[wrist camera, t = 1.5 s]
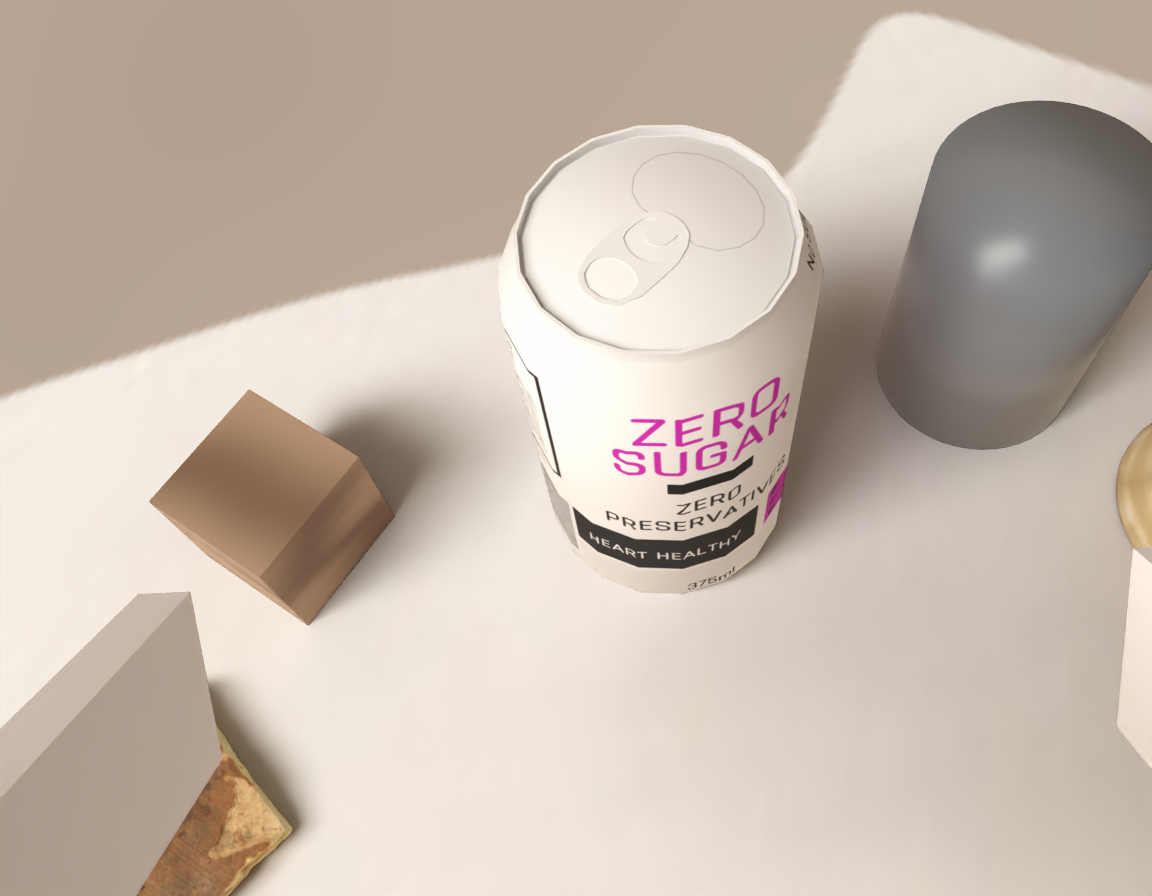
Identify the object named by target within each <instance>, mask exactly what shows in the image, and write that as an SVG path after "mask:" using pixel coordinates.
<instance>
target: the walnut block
mask: <svg viewBox="0 0 1152 896" xmlns="http://www.w3.org/2000/svg"><path fill="white" fill-rule="evenodd" d="M149 502H150V503H151V504H152V505H153V506H154V507H155V508H157V509H158V510H159V511H160V512H161V513H162V514H163V515H164V516H165V517H166V518H167V519H169V520H170V521H171V522H172V523H173V524H174V525H175V526H176V527H177V528H178V529H179V530H180V531H182V532H183V533H184V534H185V535H186V536H187V537H188V538H189V539H190V540H191V541H192V542H193V543H195V544H196V545H197V546H198V547H199V548H200V549H201V550H202V551H203V552H204V553H205V554H207V555H208V556H209V557H210V558H212V559H213V560H215V561H216V562H217V563H219V564H220V565H222V566H223V567H225V568H226V569H227V570H229V571H230V572H232V573H233V574H235V575H236V576H238V577H239V578H240V579H242V580H243V581H245V582H246V583H248V584H249V585H250V586H252V587H253V588H255V589H256V590H258V591H259V592H260V593H262V594H263V595H265V596H266V597H268V598H269V599H271V600H272V601H273V602H275V603H276V604H278V605H279V606H281V607H282V608H283V609H285V610H286V611H288V612H289V613H291V614H292V615H294V616H295V617H296V618H298V619H299V620H301V621H302V622H304V623H305V624H306V625H309V624H310V623H311V622H312V620H313V619H314V618H315V617H316V615H317V614H318V613H319V612H320V610H321V609H322V608H323V606H324V605H325V604H326V603H327V601H328V600H329V599H330V598H331V596H332V595H333V594H334V593H335V591H336V590H337V589H338V587H339V586H340V585H341V584H342V582H343V581H344V580H345V579H346V577H347V576H348V575H349V574H350V572H351V571H352V570H353V568H354V567H355V566H356V565H357V563H358V562H359V561H360V560H361V558H362V557H363V556H364V555H365V553H366V552H367V551H368V550H369V548H370V547H371V546H372V544H373V543H374V542H375V541H376V539H377V538H378V537H379V536H380V534H381V533H382V532H383V531H384V529H385V528H386V527H387V525H388V524H389V523H390V522H391V520H392V519H393V518H394V517H395V516H394V514H393V512H392V511H391V509H390V507H389V506H388V504H387V503H386V501H385V499H384V498H383V496H382V494H381V493H380V491H379V489H378V488H377V486H376V484H375V483H374V481H373V479H372V478H371V476H370V474H369V473H368V471H367V470H366V468H365V466H364V465H363V463H362V461H361V460H360V458H359V457H358V456H357V455H355V454H354V453H352V452H350V451H349V450H347V449H345V448H344V447H342V446H341V445H339V444H337V443H336V442H334V441H332V440H331V439H329V438H327V437H326V436H324V435H323V434H321V433H319V432H318V431H316V430H314V429H313V428H311V427H310V426H308V425H306V424H305V423H303V422H301V421H300V420H298V419H297V418H295V417H293V416H292V415H290V414H288V413H287V412H285V411H284V410H282V409H280V408H279V407H277V406H275V405H274V404H272V403H271V402H269V401H267V400H266V399H264V398H262V397H261V396H259V395H258V394H256V393H254V392H253V391H251V390H248V391H247V392H246V393H245V395H244V396H243V397H242V398H241V399H240V400H239V401H238V402H237V403H236V405H235V406H234V407H233V408H232V409H231V410H230V411H229V412H228V414H227V415H226V416H225V417H224V418H223V419H222V420H221V421H220V423H219V424H218V425H217V426H216V427H215V428H214V429H213V430H212V431H211V433H210V434H209V435H208V436H207V437H206V438H205V439H204V440H203V442H202V443H201V444H200V445H199V446H198V447H197V448H196V449H195V451H194V452H193V453H192V454H191V455H190V456H189V457H188V458H187V459H186V461H185V462H184V463H183V464H182V465H181V466H180V467H179V468H178V470H177V471H176V472H175V473H174V474H173V475H172V476H171V477H170V479H169V480H168V481H167V482H166V483H165V484H164V485H163V486H162V488H161V489H160V490H159V491H158V492H157V493H156V494H155V495H154V496H153V498H152V499H151V500H150V501H149Z"/></svg>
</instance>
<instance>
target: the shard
mask: <svg viewBox="0 0 1152 896" xmlns="http://www.w3.org/2000/svg"><path fill="white" fill-rule="evenodd" d="M216 728H217V733H218V739H219V744H220V749H221V754H222V760H221V762H220V763H219V765H218V767H217V768H216V770H215V771H214V773H213V774H212V776H211V778H210V779H209V781H208V782H207V784H206V786H205V787H204V789H203V790H202V792H201V794H200V795H199V797H198V798H197V800H196V802H195V803H194V805H193V806H192V808H191V809H190V811H189V813H188V814H187V816H186V817H185V819H184V821H183V822H182V824H181V825H180V827H179V829H178V830H177V832H176V833H175V835H174V837H173V838H172V840H171V841H170V843H169V844H168V846H167V848H166V849H165V851H164V852H163V854H162V856H161V857H160V859H159V860H158V862H157V864H156V865H155V867H154V868H153V870H152V871H151V873H150V875H149V876H148V878H147V879H146V881H145V883H144V884H143V886H142V887H141V889H140V891H139V892H138V894H137V895H136V896H228V895H229V894H230V893H231V892H232V891H233V890H234V889H235V888H236V887H237V885H238V884H239V883H240V882H241V881H242V880H243V879H244V878H245V877H246V876H247V875H248V873H249V872H250V870H251V868H252V867H253V866H255V865H256V864H257V863H259V862H260V861H261V860H262V859H264V858H265V857H266V856H267V855H268V854H270V853H271V852H272V851H274V850H275V849H276V847H277V846H278V845H279V843H280V842H281V841H283V840H284V839H286V838H287V837H288V835H289V834H290V833H291V832H292V831H293V828H292V826H291V825H290V824H289V822H288V821H287V820H286V819H285V817H284V816H283V815H282V814H281V813H280V812H279V811H278V810H277V808H276V807H275V806H274V804H273V803H272V802H271V801H270V799H269V798H268V797H267V795H266V794H265V793H264V792H263V790H262V789H261V788H260V787H259V786H258V785H257V783H256V782H255V781H254V779H253V778H252V777H251V775H250V774H249V772H248V770H247V769H246V767H245V766H244V765H243V764H242V763H241V762H240V761H239V760H238V758H237V756H236V754H235V753H234V751H233V749H232V748H231V746H230V744H229V742H228V741H227V739H226V737H225V735H224V734H223V733H222V732H221V731H220V729H219V727H218V726H217V725H216Z"/></svg>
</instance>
